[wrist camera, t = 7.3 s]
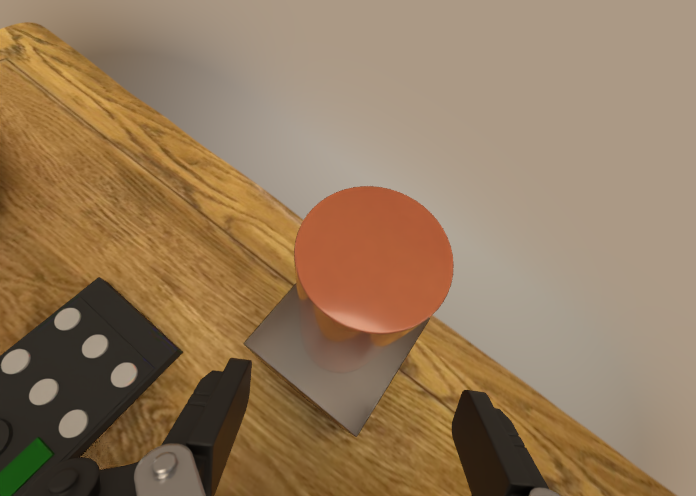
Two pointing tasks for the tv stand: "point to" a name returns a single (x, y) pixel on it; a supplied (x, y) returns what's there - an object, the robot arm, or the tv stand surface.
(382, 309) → the orange cylinder rod
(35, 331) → the remote control
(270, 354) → the stand
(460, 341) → the tv stand surface
